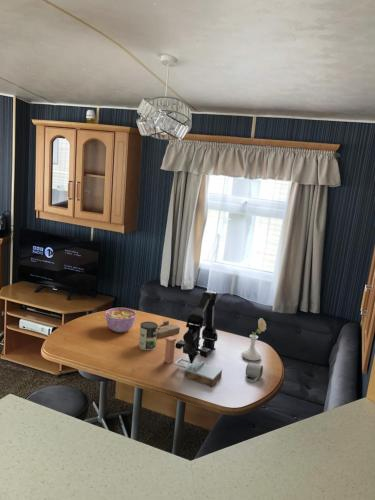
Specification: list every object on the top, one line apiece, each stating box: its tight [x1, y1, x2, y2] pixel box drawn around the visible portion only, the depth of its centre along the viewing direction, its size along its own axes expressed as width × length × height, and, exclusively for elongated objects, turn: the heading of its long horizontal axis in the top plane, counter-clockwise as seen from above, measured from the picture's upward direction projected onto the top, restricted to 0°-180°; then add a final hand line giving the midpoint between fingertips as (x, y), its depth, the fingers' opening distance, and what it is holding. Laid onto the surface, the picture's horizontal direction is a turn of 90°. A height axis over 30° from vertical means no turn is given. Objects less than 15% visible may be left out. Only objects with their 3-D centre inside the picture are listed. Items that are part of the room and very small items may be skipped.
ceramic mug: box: [245, 362, 264, 383], centre depth 213 cm, size 11×8×8 cm
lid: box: [173, 357, 223, 380], centre depth 211 cm, size 24×12×2 cm, turn 62°
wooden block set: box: [156, 318, 180, 339], centre depth 263 cm, size 17×6×18 cm
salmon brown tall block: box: [164, 335, 177, 364], centre depth 222 cm, size 4×4×14 cm
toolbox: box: [183, 370, 223, 388], centre depth 210 cm, size 16×12×4 cm
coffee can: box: [138, 321, 158, 351], centre depth 237 cm, size 10×10×14 cm
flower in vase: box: [241, 317, 267, 361], centre depth 235 cm, size 13×11×25 cm
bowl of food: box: [104, 307, 137, 333], centre depth 257 cm, size 20×20×12 cm
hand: (191, 363), depth 212 cm, fingers closed
